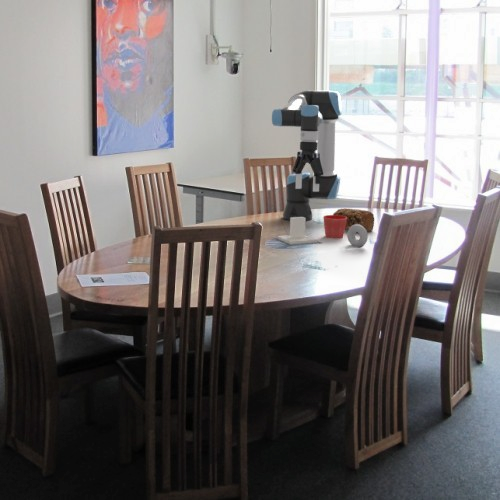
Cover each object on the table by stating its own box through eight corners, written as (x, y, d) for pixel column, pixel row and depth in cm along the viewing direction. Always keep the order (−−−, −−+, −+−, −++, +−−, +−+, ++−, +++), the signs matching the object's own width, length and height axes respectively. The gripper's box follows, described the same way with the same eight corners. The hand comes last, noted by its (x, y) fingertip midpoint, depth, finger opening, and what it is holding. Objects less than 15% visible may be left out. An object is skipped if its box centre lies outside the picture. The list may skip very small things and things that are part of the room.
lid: (277, 238, 360) (278, 216, 357) (303, 236, 365) (304, 214, 363) (290, 244, 348) (291, 221, 346) (317, 242, 353) (318, 219, 351)
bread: (374, 231, 383) (375, 210, 381) (358, 233, 377) (359, 212, 375) (346, 225, 398) (347, 205, 395) (330, 227, 391) (331, 207, 389)
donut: (345, 246, 349) (346, 223, 347) (349, 244, 352) (350, 222, 350) (364, 249, 343) (365, 226, 341) (368, 248, 345) (369, 225, 343)
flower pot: (346, 235, 371) (346, 215, 369) (346, 240, 361) (347, 219, 358) (322, 235, 372) (323, 214, 370) (322, 239, 362) (323, 218, 359)
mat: (272, 239, 361) (272, 237, 361) (303, 236, 368) (303, 235, 368) (290, 247, 345) (290, 245, 345) (323, 244, 352) (323, 243, 352)
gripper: (286, 139, 359) (284, 187, 362) (318, 142, 338) (316, 192, 341) (300, 140, 363) (298, 187, 366) (332, 142, 341) (330, 192, 345)
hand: (307, 190), depth 354 cm, fingers open, 13 cm apart
